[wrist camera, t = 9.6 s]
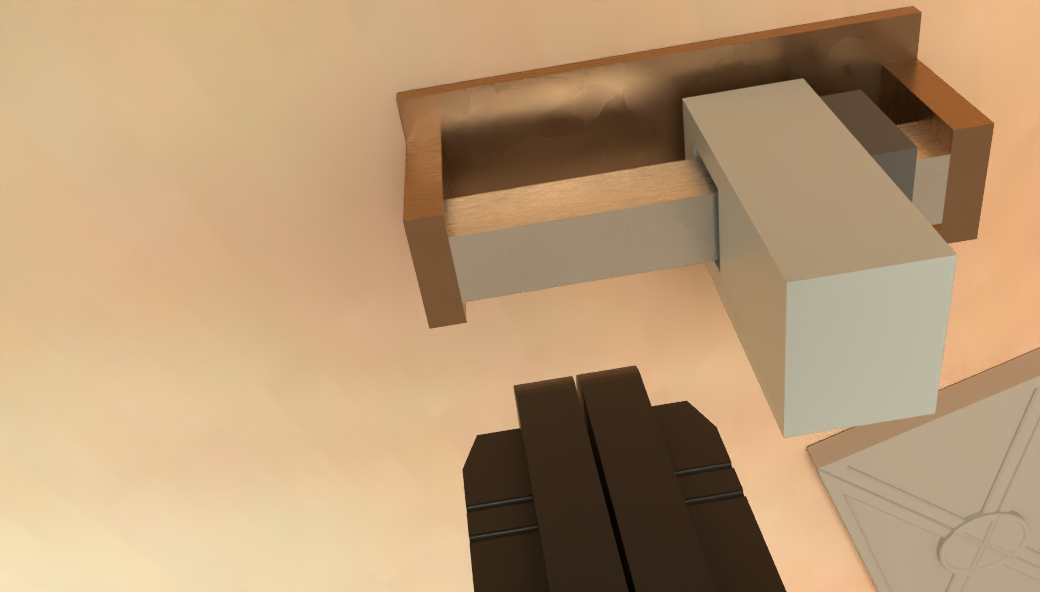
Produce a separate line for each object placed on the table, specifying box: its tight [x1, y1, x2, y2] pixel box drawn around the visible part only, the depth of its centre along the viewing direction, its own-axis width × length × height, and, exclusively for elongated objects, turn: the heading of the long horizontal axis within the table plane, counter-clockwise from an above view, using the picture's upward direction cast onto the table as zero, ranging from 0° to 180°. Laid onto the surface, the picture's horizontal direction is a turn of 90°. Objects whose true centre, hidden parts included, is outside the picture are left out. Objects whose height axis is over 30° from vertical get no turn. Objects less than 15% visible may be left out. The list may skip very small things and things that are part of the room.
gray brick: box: [820, 90, 918, 202], centre depth 38 cm, size 2×5×5 cm, turn 9°
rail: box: [396, 6, 994, 328], centre depth 40 cm, size 22×9×8 cm, turn 98°
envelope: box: [807, 348, 1040, 592], centre depth 59 cm, size 24×2×14 cm
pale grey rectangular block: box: [682, 78, 957, 438], centre depth 35 cm, size 5×6×14 cm
